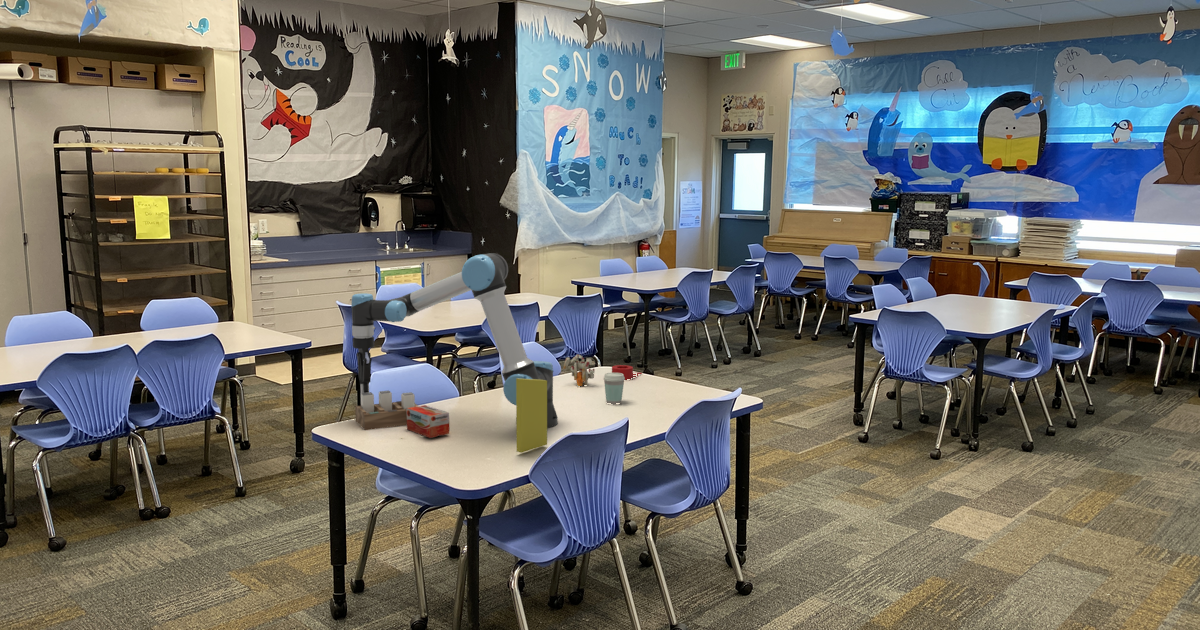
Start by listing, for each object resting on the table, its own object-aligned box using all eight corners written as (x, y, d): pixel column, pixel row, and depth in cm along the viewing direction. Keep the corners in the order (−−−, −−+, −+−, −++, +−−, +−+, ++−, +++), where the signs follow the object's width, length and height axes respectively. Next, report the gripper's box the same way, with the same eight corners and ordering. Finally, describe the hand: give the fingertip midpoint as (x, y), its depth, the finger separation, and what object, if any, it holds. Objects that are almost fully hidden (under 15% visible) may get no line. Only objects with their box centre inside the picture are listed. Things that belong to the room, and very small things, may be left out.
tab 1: (374, 413, 309) (373, 393, 308) (363, 414, 307) (362, 394, 306) (372, 411, 312) (371, 391, 311) (361, 413, 310) (360, 393, 309)
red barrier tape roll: (623, 385, 377) (624, 370, 376) (607, 381, 383) (607, 367, 382) (648, 378, 390) (648, 364, 389) (632, 375, 396) (632, 361, 396)
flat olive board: (542, 443, 286) (542, 372, 283) (547, 444, 284) (547, 373, 281) (516, 451, 276) (516, 378, 273) (521, 452, 275) (521, 379, 272)
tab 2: (392, 411, 312) (391, 391, 311) (381, 412, 311) (380, 392, 310) (390, 409, 315) (389, 390, 314) (379, 411, 313) (378, 391, 312)
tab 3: (414, 413, 310) (414, 393, 309) (404, 414, 308) (403, 394, 307) (412, 411, 312) (412, 391, 311) (401, 413, 311) (401, 393, 310)
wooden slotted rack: (420, 423, 309) (420, 407, 308) (365, 430, 300) (364, 413, 299) (409, 414, 321) (409, 399, 320) (355, 421, 312) (355, 404, 311)
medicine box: (450, 434, 296) (449, 411, 295) (430, 438, 290) (429, 415, 289) (425, 425, 307) (424, 404, 306) (405, 430, 301) (405, 407, 300)
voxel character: (596, 388, 368) (596, 354, 366) (584, 392, 360) (584, 357, 358) (574, 385, 374) (574, 351, 372) (562, 389, 366) (562, 354, 364)
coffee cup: (627, 405, 338) (627, 376, 337) (606, 407, 336) (606, 376, 335) (621, 400, 346) (621, 371, 345) (600, 402, 344) (601, 372, 343)
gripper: (378, 338, 305) (380, 403, 308) (369, 333, 317) (371, 395, 320) (356, 339, 302) (358, 405, 305) (348, 334, 313) (350, 397, 316)
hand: (365, 400), depth 312 cm, fingers closed
